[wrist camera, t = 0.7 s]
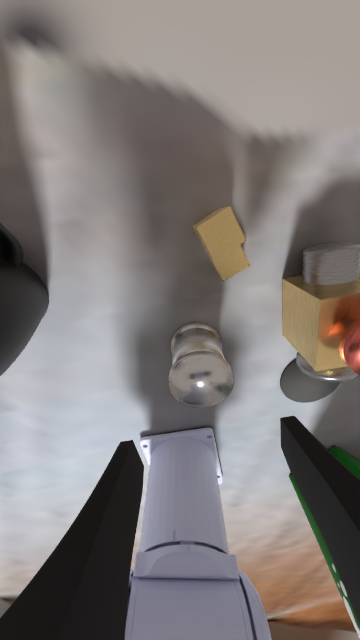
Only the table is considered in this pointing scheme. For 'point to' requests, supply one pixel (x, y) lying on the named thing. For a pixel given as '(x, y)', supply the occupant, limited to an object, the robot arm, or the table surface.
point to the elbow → (223, 242)
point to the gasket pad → (304, 385)
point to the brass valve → (325, 312)
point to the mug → (17, 300)
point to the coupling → (199, 367)
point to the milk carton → (356, 468)
